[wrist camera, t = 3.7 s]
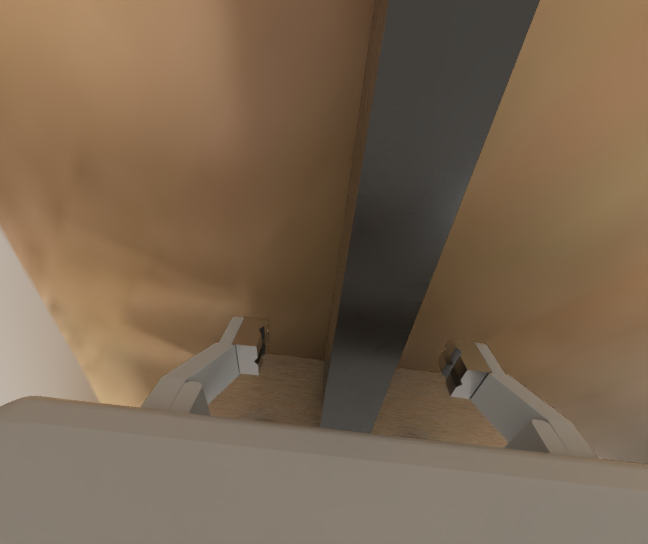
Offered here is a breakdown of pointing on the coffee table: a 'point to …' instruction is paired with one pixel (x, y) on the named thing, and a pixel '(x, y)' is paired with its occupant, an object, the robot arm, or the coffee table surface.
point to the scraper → (398, 225)
